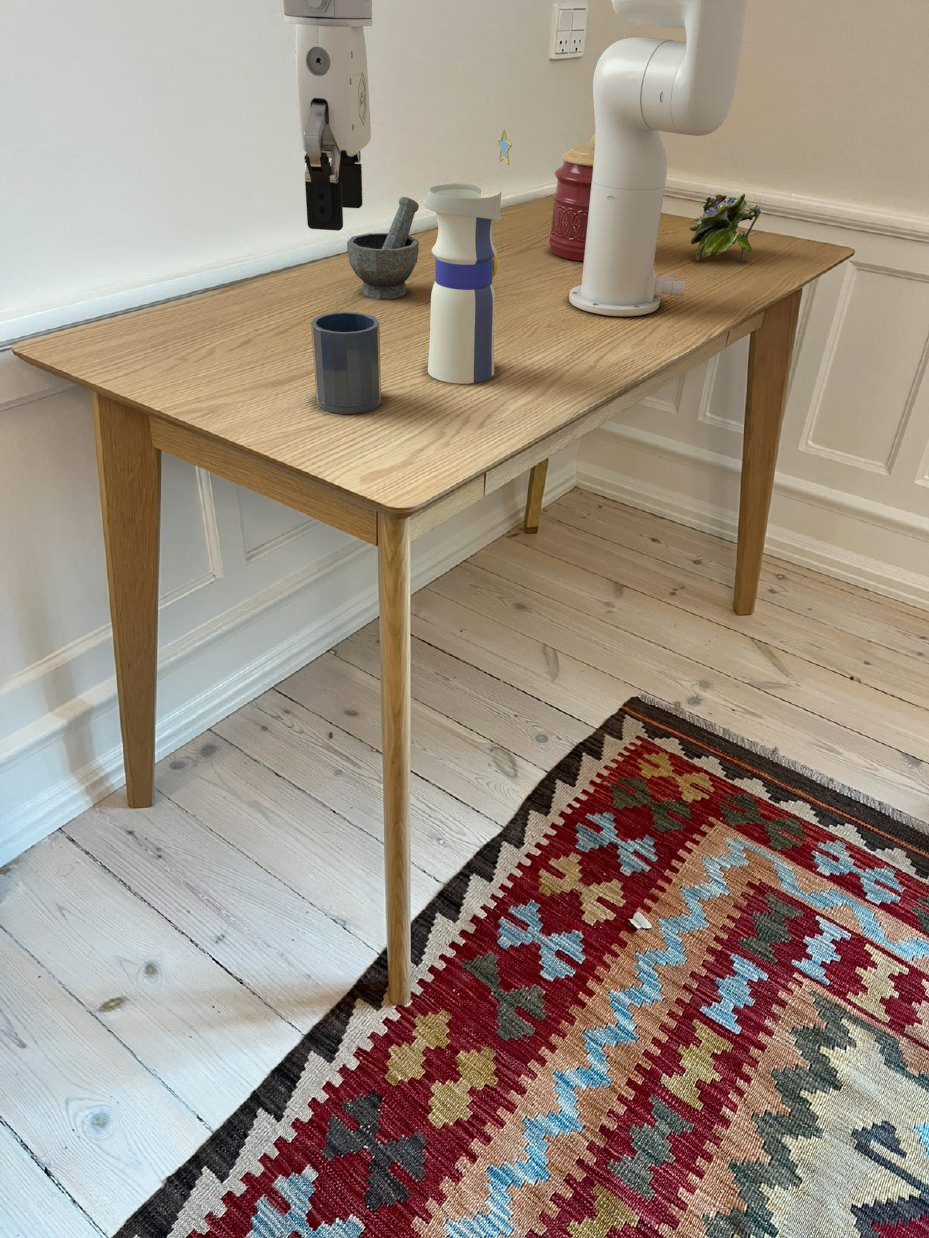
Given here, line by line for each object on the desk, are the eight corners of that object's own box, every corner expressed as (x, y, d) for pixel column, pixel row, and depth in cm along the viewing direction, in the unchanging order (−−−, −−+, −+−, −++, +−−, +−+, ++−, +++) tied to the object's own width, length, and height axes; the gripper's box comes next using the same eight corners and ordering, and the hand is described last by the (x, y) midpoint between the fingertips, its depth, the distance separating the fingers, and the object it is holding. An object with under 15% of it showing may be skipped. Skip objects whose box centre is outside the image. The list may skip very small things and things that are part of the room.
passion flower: (700, 283, 158) (724, 216, 158) (757, 286, 151) (783, 214, 150) (668, 252, 150) (693, 180, 149) (727, 253, 143) (754, 177, 142)
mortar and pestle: (380, 307, 126) (378, 213, 119) (335, 291, 131) (331, 200, 124) (439, 291, 133) (440, 201, 126) (394, 277, 138) (392, 189, 131)
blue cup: (385, 391, 102) (383, 313, 97) (375, 416, 96) (372, 335, 91) (324, 387, 102) (319, 310, 97) (310, 412, 97) (304, 331, 92)
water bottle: (460, 352, 112) (466, 120, 98) (511, 372, 107) (525, 131, 93) (409, 368, 108) (407, 127, 93) (460, 389, 103) (467, 138, 88)
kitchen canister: (632, 265, 147) (648, 141, 136) (550, 262, 147) (560, 138, 136) (622, 244, 157) (637, 127, 147) (546, 241, 157) (555, 125, 147)
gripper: (352, 9, 72) (358, 241, 82) (387, 3, 86) (389, 202, 96) (257, 5, 72) (274, 236, 82) (307, -1, 86) (317, 197, 96)
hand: (336, 217), depth 89 cm, fingers open, 9 cm apart
